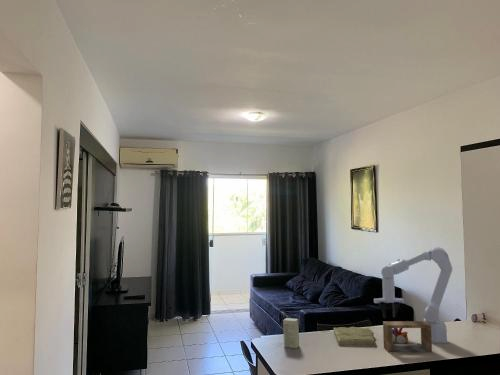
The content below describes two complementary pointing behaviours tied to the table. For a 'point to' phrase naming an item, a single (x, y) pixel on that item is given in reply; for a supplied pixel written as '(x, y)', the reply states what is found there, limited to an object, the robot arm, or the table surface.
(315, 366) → the table surface
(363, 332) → the folded green towel
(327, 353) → the table surface
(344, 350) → the table surface
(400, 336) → the multicoloured spiky piece
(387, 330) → the walnut shelf
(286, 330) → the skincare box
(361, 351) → the table surface
